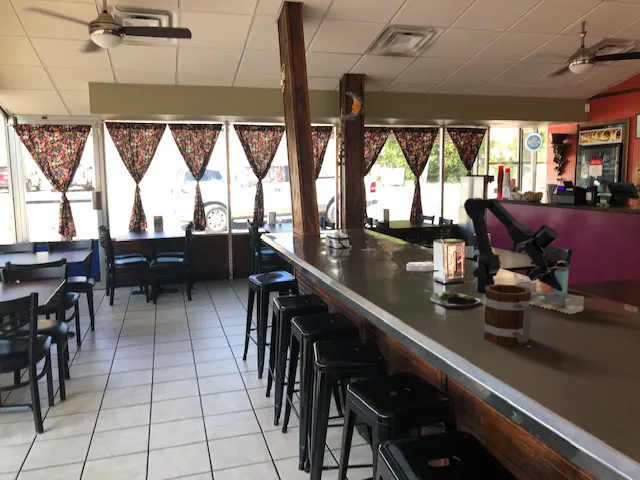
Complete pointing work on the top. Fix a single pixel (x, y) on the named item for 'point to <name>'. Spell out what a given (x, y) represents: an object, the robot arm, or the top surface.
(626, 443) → the top surface
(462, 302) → the salad plate
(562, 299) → the carriage
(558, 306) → the rail track
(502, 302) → the mug
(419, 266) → the white rectangular slab
